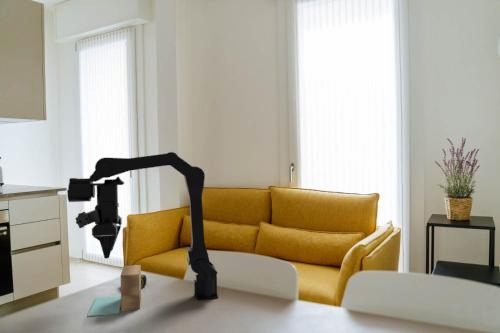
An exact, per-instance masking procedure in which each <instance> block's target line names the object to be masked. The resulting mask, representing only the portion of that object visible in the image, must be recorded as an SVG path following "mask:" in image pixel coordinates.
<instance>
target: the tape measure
mask: <svg viewBox="0 0 500 333" xmlns="http://www.w3.org/2000/svg"><path fill="white" fill-rule="evenodd" d="M147 280H148V279H147V275H145V274H141V288H143V287H145V286H146V285H147V282H148V281H147Z"/></svg>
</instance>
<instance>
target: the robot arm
mask: <svg viewBox="0 0 500 333" xmlns="http://www.w3.org/2000/svg"><path fill="white" fill-rule="evenodd" d="M166 166H170V167H172V168H173V169H175V170H176V171H177V172H179V173H180V174H181V175H183V178H184V182H185V186H186V187H185V188H186V190H187V194H188V198H189V200H188V201H189V215H190V218H189V220H190V234H191V243H190V247H189V246H187V247H185V248H186V252H187V256H186V257H187V258H186V261H187V265H188V266H190V269H191V271H192V272H194V273H195V279H193V295H194V296H195V297H196V300H208V299H209V300H210V299H218V298H219V294H218V276H217V275H218V271H217V268H216V267H215V266H214V264H213V263H212V262H211V261H210V258H209V253H208V250H207V246H206V241H205V229H204V213H203V212H204V211H203V210H204V209H203V192H204V186H205V178H206V177H205V172H204V170H203V169H202V168H201V167H199V166H194V165H191V164H189V163H188V162H187V161H186V160H185V159H183V158H181V156H178V154H177V153H176V152H174V151H170V152H167V153H161V154H160V153H159V154H154V155H144V156H137V157H130V158H129V157H124V158H123V157H101V158H99V159H98V160H97V161H96V162H95V166H94V171H93V172H92V173H91V175H90V176H89V178H78V177H77V178H76V177H74V178H73V177H70V178H69V179H68V180H69V182H68V187H67V188H68V189H67V191H66V192H67V200H68V203H76V202H77V203H80V202H82V203H83V202H84V203H85V202H91V201H92V198H93V199H95V197H96V205H95V207H94V209H93V210H91V211H88V212H86V211H83V212H79V213H78V214H77V216H76V217H75V218H74V219H75V223H76V224H77V226H78V228H79V229H82V228H84V227H86V226H88V225H90V224H93V223H94V224H95V225H94V226H93V227H92V228H91V236H93V238H94V239H96V240H97V241H99V243H100V247H101V250H102V253H103V257H104V259H109V258H110V256H111V253H112V251H113V250H114V247H115V244H116V241H117V239H118V236H119V233H120V231H121V228H122V223H123V222H122V221H123V218H122V217H121V216H120V215H119V205H120V204H119V197H118V195H119V194H118V193H119V191H118V189H119V188H118V186H122V185H125V181H123V180H122V179H121V178H120V176H117V175H120V174H121V175H122V174H123V173H126V172H130V171H136V170H143V169H145V170H146V169H151V168H159V167H166ZM114 176H117V177H116V178H113V179H108V178H110V177H114ZM103 178H105V179H104V182H98V181H101V180H102V179H103ZM106 178H107V179H106Z"/></svg>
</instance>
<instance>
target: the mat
mask: <svg viewBox="0 0 500 333" xmlns="http://www.w3.org/2000/svg"><path fill="white" fill-rule="evenodd" d="M120 311H121V295H113V296H105V297H104V296H103V297H102V296H101V297H95V298H94V300H93V303H92V304H91V308H90V309H89V312H88V314H87V318H88V317H98V316H108V315H110V316H111V315H117V314H120Z"/></svg>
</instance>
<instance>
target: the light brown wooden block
mask: <svg viewBox="0 0 500 333" xmlns="http://www.w3.org/2000/svg"><path fill="white" fill-rule="evenodd" d="M141 266H142V265H141V264H135V265H123V266H122V269H121V274H120V296H121V307H120V311H121V312H125V311H126V312H127V311H135V310H141V303H142V287H141V275H142V270H141V269H142V267H141Z"/></svg>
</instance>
